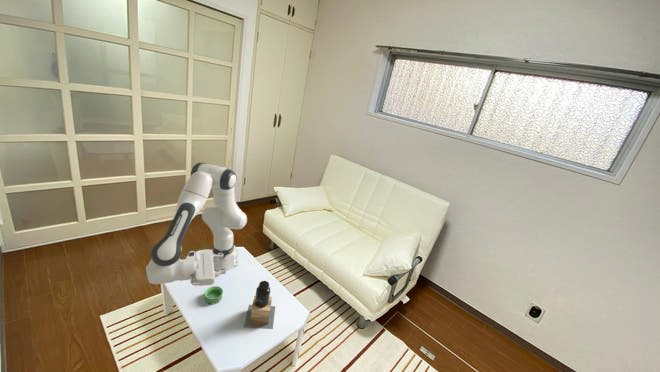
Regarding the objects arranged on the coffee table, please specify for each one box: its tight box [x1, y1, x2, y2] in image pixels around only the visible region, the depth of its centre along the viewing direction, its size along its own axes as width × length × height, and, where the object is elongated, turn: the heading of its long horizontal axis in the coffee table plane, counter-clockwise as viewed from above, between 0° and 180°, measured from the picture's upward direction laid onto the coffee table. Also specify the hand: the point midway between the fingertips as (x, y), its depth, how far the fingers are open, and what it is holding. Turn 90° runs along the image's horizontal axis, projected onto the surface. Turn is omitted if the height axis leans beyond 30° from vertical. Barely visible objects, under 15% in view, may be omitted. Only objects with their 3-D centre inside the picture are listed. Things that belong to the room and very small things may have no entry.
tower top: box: [251, 295, 273, 318], centre depth 134 cm, size 9×9×4 cm
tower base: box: [250, 317, 269, 324], centre depth 136 cm, size 9×9×4 cm
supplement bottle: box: [254, 280, 271, 307], centre depth 131 cm, size 7×7×12 cm
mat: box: [243, 304, 276, 330], centre depth 137 cm, size 14×14×1 cm
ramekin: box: [204, 285, 224, 305], centre depth 141 cm, size 9×9×4 cm
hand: (224, 264), depth 122 cm, fingers open, 8 cm apart
